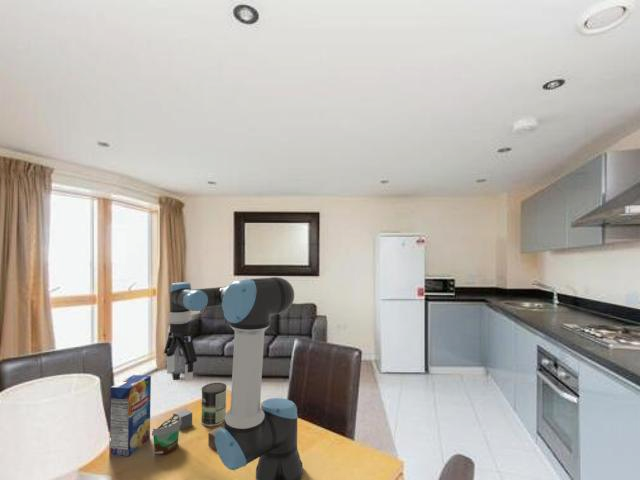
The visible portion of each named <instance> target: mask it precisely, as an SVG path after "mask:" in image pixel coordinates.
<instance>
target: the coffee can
mask: <svg viewBox="0 0 640 480" xmlns="http://www.w3.org/2000/svg"><path fill="white" fill-rule="evenodd" d="M226 413H227V384H226V383H223V382H211V383H208V384H205V385H204V386H202V387H201V420H200V421H201V423H200V424H202V426H205V427H215V426H219V425H221V424H224V419H225V414H226Z"/></svg>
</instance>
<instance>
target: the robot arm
mask: <svg viewBox="0 0 640 480" xmlns="http://www.w3.org/2000/svg"><path fill="white" fill-rule="evenodd" d="M191 286H192V285H191V283H190V282H188V281H187V282H185V281H184V282H183V281H182V282H174V283H171V284H170V289H169V322H170V323H169V332H168V336H167V341H166V343H165V348H164V350H163V352H164V354H165V356H166V359H167V360H166V361H167V362H166V364H167V365H166V372H167V374H170V373H173V372H176V371H175V369H176V368H175V363H176V361H175V358H176V353H175V352H176V350H177V348H178V347H179V349H181V352H182V354H183V357H184V359H185V365H184V367H185V368H184V370H185V371H184V382H190V381H192V380H193V378H194V377H193V376H194V363H196V362H198V359H197V355H196V350H195V346H194V343H193V341H194V340H193V336H192V335H189V336H188V332H190V331H191V322H190V320H191V314H192V313H191V312H199V311H202V310H203V309H208V308H215V307H222V309H221V310H222V311H223V316H224V319H225V320H226V321H228V322H229V326H230V328H231V329H232V330H233V331H234V338H233V359H232V374H231V391H230V392H231V393H230V394H231V395H230V408H229V410H227V411H226V414H225V419H224V422H223V426H219V427H220V428H219V429H218V430H217V431H216V434H215V444H216V449H217V455H218V456H219V459H220V461H221V462H222V464H223V465H224V466H225V468H227V469H228V470H231V471H236V470H238V469H240V468H242V467H246V466H247V465H248V464H250V463H251V462H254V461H255V460H257V459H258V461H257V465H256V468H255V480H302V478H303V469H304V466H303V462H302V459H301V456H300V453H299V449H298V419H299V416H298V407H297V404H296V403H294V401H292V400H291V399H290V400H289V399H288V398H287V399H286V398H282V397H274V398H272V397H271V398H267V399H265V400H263V401H262V402H261V395H262V379H263V378H262V376H263V366H264V365H263V364H264V346H265V345H264V343H265V332H266V330H267V329H268V328H269V327H270V326H271V317H272V316H276V315H280V314H283V313H285V312H287V310H289V309H290V308H291V307H292V305H293V303H294V301H295V290H294V287H293V285H292V284H291V283H290V282H289V281H288V280H287V279H285V278H282V277H279V276H278V277H277V276H276V277H275V276H274V277H273V276H272V277H262V278H261V277H260V278H259V277H257V278H244V279H239V280H235V281H233V282H231V283H230V285H226V286H218V287H217V286H216V287H208V288H207V287H205V288H192V287H191Z"/></svg>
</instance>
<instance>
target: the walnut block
mask: <svg viewBox="0 0 640 480" xmlns="http://www.w3.org/2000/svg"><path fill="white" fill-rule="evenodd" d="M220 427H221V426H218V427H216V428H215V429H212V430H211V431H209V432H208V447H209V448H211V449H212V450H214V451H217V449H216V444H215V434H216V431H217V430H218V429H219V428H220Z"/></svg>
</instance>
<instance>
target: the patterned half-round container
mask: <svg viewBox="0 0 640 480" xmlns="http://www.w3.org/2000/svg"><path fill="white" fill-rule="evenodd" d="M181 423H182V422H181V418H180V416H179V415H178V414H175V413H173V415H172V416H171V417H170V418H168V419H167V420H164V421H163V423H161V425H159V426H158V427H157V428H152V434H151V436H153V439H152V440H153V453H154V457H161V456H165V455H166V456H167V455H169V454H171V453H173V452H175V450H176V449H177V448H178V447H179V446H178V444H179V437H180V435H179V434H180V429H179V427H180V426H181Z"/></svg>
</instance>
